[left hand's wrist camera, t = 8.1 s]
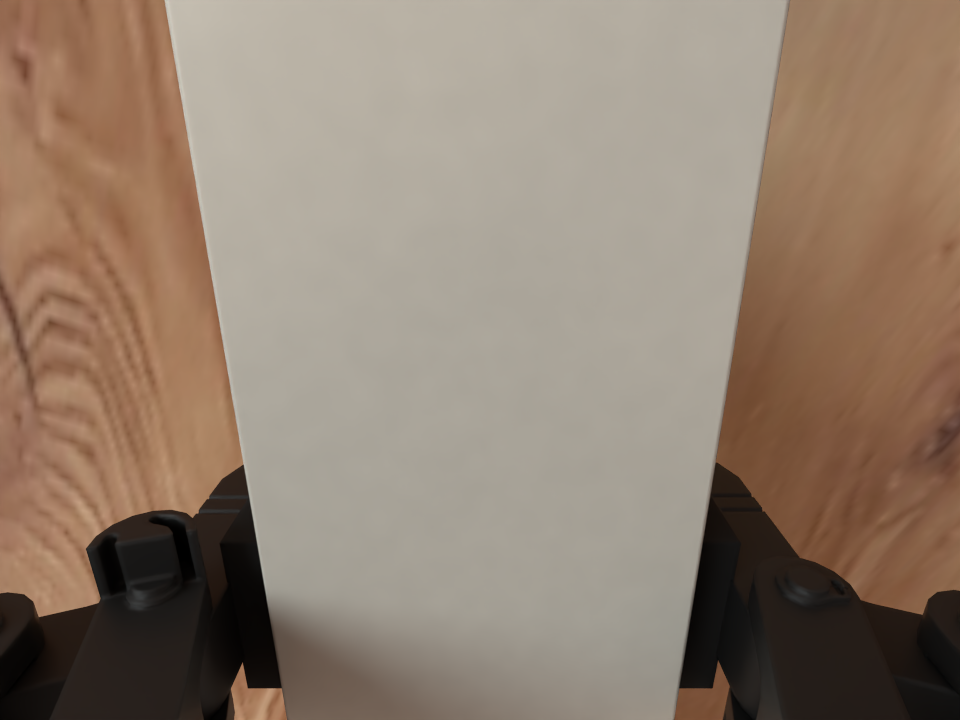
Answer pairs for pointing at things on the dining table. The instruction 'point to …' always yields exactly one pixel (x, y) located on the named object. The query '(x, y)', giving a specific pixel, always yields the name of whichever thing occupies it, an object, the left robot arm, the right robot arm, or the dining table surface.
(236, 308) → the beam
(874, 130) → the dining table surface
